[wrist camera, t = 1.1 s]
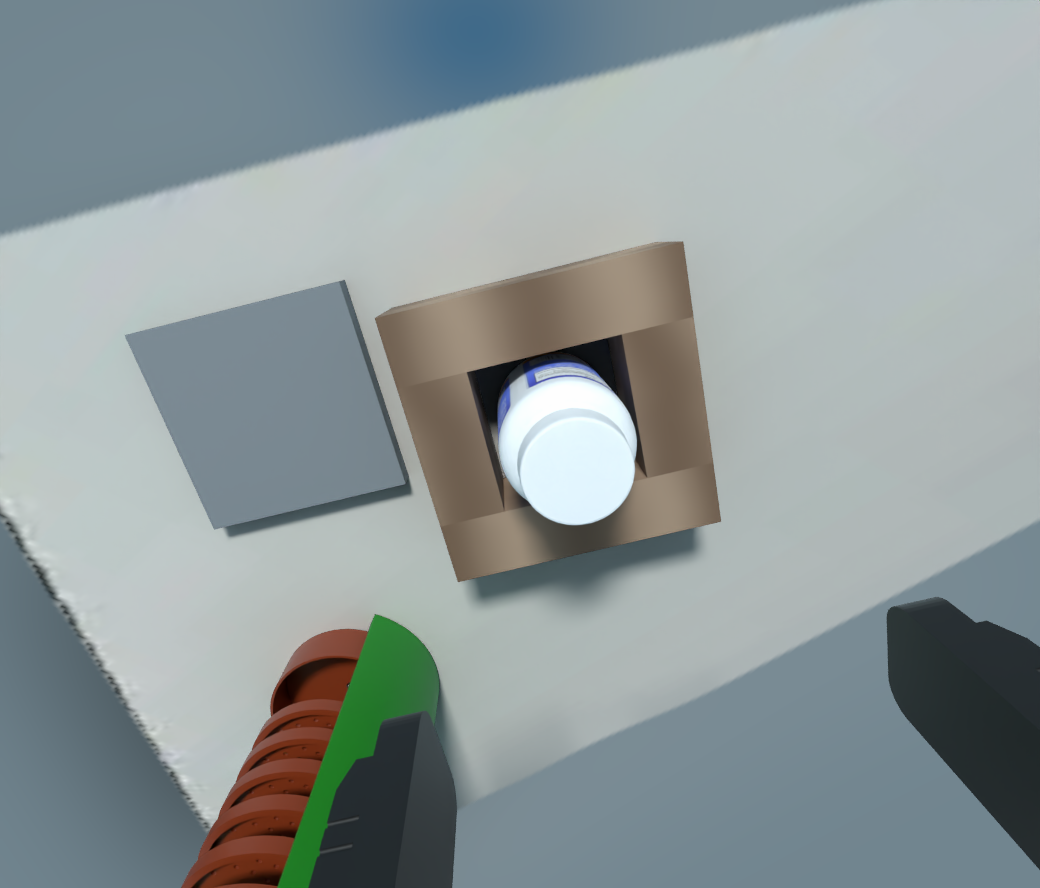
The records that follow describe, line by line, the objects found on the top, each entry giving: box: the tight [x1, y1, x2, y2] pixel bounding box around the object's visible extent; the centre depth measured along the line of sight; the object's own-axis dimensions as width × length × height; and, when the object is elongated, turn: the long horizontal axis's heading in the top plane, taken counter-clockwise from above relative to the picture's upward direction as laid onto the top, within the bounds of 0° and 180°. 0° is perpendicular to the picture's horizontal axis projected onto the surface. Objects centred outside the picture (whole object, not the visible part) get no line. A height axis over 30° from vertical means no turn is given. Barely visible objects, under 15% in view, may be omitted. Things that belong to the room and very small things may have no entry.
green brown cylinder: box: [181, 614, 439, 888], centre depth 25 cm, size 10×9×20 cm
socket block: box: [375, 242, 721, 582], centre depth 27 cm, size 13×13×4 cm
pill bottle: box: [497, 352, 637, 525], centre depth 24 cm, size 5×5×10 cm
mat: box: [125, 280, 408, 529], centre depth 28 cm, size 10×10×1 cm
